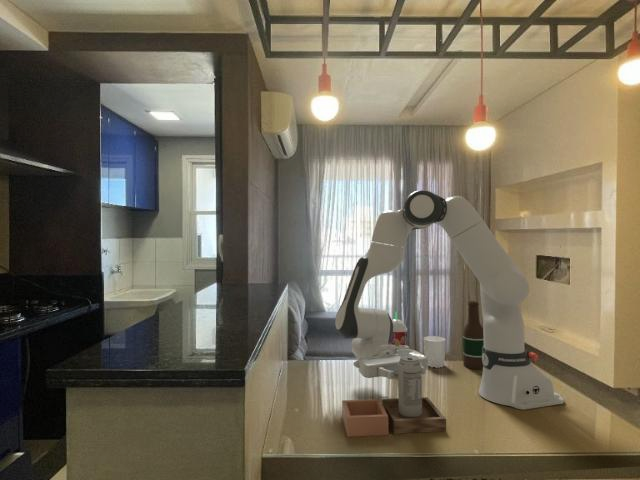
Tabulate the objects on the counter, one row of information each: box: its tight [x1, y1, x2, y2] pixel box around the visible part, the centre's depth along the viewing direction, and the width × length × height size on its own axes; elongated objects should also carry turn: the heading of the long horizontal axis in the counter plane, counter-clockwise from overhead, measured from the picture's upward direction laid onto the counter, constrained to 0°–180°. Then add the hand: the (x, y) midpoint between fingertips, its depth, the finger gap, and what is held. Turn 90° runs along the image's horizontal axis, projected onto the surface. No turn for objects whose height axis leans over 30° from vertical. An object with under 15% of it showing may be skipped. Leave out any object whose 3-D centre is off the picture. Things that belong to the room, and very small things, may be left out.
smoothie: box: [389, 311, 408, 346], centre depth 143 cm, size 8×8×20 cm
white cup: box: [423, 335, 446, 369], centre depth 142 cm, size 8×8×10 cm
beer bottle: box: [462, 300, 484, 370], centre depth 140 cm, size 8×8×24 cm
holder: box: [341, 398, 389, 438], centre depth 95 cm, size 10×10×4 cm
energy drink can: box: [397, 355, 423, 419], centre depth 99 cm, size 6×6×15 cm
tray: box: [381, 396, 447, 434], centre depth 98 cm, size 13×13×3 cm
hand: (407, 373), depth 100 cm, fingers open, 8 cm apart
